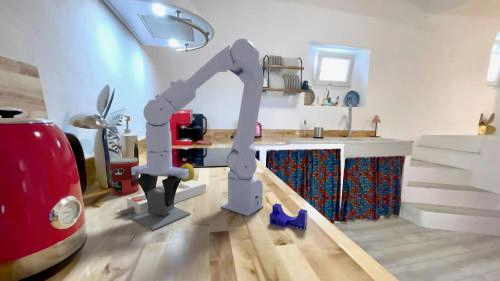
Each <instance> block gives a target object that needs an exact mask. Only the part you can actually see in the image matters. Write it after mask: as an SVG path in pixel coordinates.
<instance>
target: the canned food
mask: <svg viewBox="0 0 500 281" xmlns="http://www.w3.org/2000/svg"><path fill="white" fill-rule="evenodd" d="M138 160H139V159H138V158H137V157H133V156H132V157H130V156H129V157H128V156H127V157H117V158H112V159H110V160H109V174H110V189H111V193H112V195H114V196H127V195H132V194H134V193H136V192H139V188H140V185H139V184H138V182H137V179H138V178H140V175H132V171H131V168H132V167H135V166H139V161H138Z"/></svg>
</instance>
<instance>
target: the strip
mask: <svg viewBox="0 0 500 281" xmlns="http://www.w3.org/2000/svg"><path fill="white" fill-rule="evenodd" d="M206 192H207V183H204V182H201V181H197V180H194V179H193V180H190V181H186V182H183V181H182V182H180V183H179V186H178V188H177V191H176V194H175V197H174V205H175V204H177V203H180V202H183V201H185V200H189V199H190V198H191V199H192V198H193V197H197V196H199V195H202V194H204V193H206ZM126 206H127V207H126V208H125V209H121V210H120V211H119V213H120V215H121V216H124V215H126V214H130V213H132V212H133V213H135V215H137V214H143V213H145V212H148V202H147V199H146V196H145V194H144V192H143V193H140V194H137V195H133V196H129V197H126Z"/></svg>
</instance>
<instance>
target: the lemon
mask: <svg viewBox="0 0 500 281" xmlns="http://www.w3.org/2000/svg"><path fill="white" fill-rule="evenodd" d="M180 168H182V169H189V177H188V178H186V179H182V180H181V182H182V183H183V182H186V181H190V180H194V178H195V173H196V172H195V169H194V166H193V165H192V164H190V163H187V162H186V163H185V164H183V165H181V166H180Z"/></svg>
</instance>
